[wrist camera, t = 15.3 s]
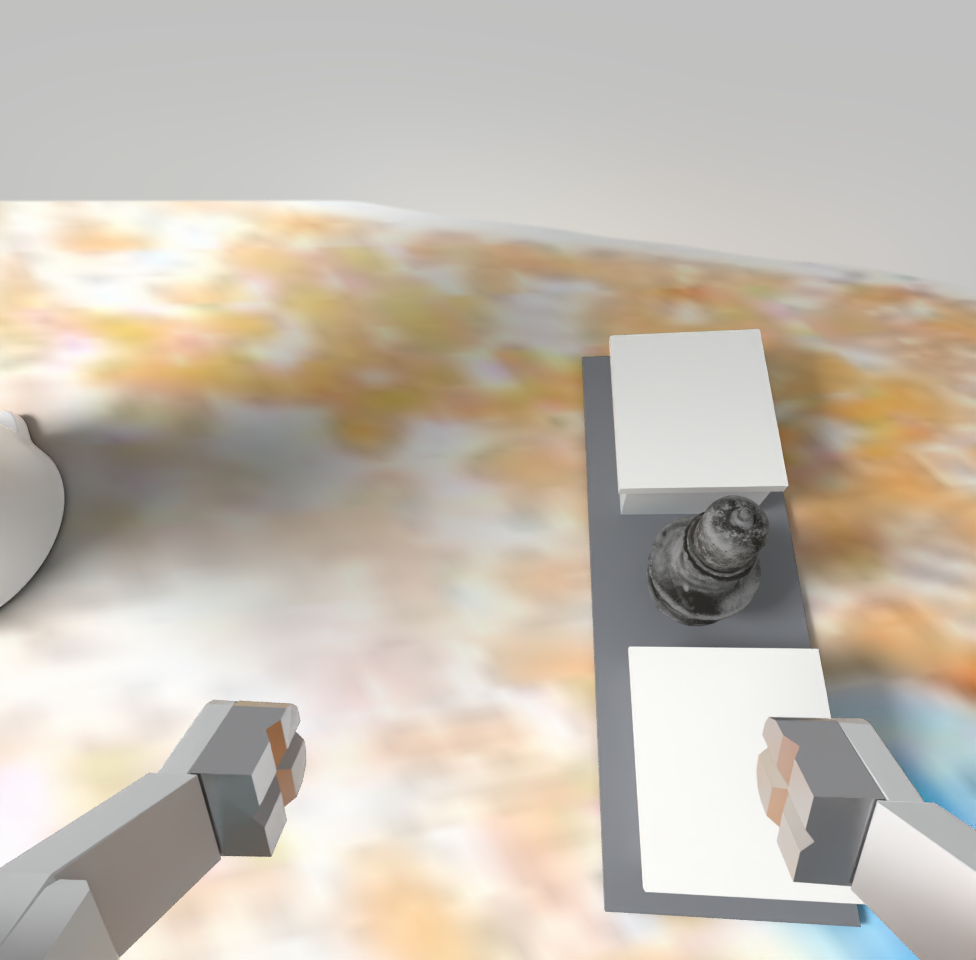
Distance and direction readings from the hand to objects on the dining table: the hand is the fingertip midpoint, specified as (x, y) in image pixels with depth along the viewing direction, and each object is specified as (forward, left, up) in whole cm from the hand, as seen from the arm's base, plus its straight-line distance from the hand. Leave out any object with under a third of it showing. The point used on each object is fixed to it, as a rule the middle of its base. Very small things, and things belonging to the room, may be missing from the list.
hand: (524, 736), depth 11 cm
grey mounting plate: (+9, +9, -26) cm, 28 cm away
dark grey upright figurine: (+9, +9, -25) cm, 28 cm away
